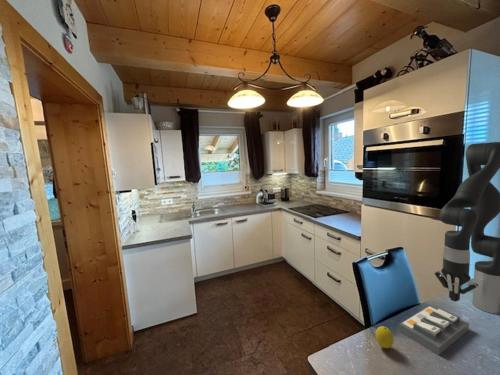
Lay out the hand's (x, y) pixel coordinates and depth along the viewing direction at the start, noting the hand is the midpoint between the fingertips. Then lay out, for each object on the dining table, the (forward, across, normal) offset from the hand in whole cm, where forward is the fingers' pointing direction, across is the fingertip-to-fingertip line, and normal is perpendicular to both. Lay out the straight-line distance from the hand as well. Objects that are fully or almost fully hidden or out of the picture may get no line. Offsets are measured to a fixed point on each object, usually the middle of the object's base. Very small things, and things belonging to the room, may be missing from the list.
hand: (454, 300), depth 86 cm
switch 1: (+7, +2, +14) cm, 16 cm away
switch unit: (+12, +3, +8) cm, 15 cm away
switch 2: (+8, +2, 0) cm, 8 cm away
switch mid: (+8, +2, +7) cm, 11 cm away
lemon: (+12, +8, +32) cm, 35 cm away
